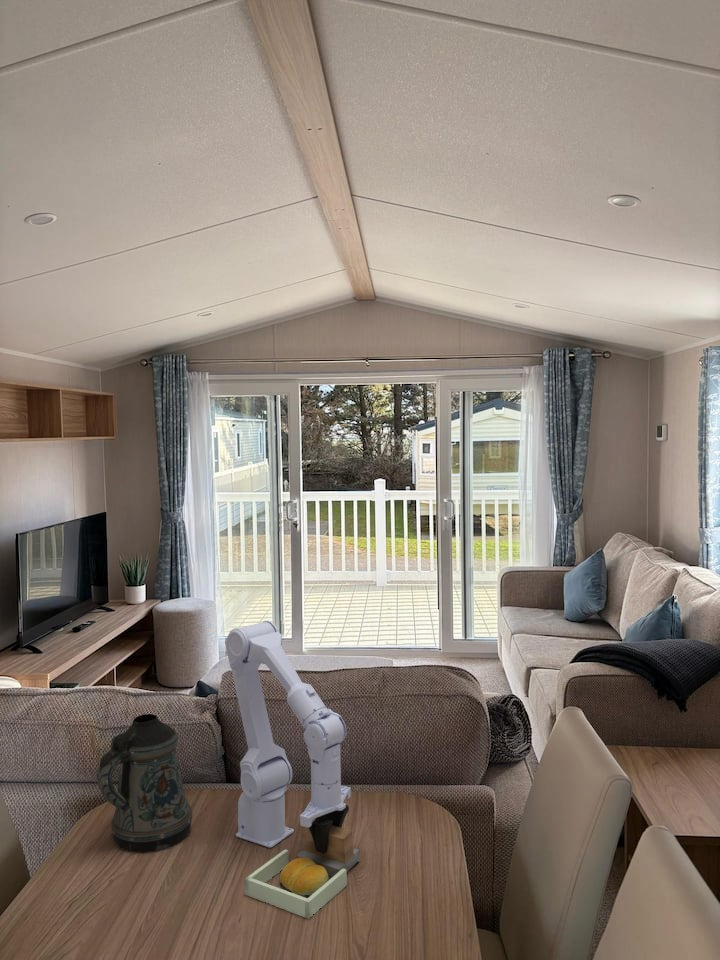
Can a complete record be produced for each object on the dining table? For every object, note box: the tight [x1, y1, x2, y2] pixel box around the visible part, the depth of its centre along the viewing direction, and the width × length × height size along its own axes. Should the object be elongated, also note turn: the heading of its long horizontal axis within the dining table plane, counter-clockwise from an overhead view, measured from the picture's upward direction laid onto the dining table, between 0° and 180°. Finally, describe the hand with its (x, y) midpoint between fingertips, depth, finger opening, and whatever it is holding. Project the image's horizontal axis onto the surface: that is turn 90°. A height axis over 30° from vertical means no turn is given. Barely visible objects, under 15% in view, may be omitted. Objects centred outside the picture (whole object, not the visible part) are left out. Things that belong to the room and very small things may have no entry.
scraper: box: [295, 825, 361, 878], centre depth 156 cm, size 10×7×7 cm
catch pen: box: [244, 849, 348, 920], centre depth 148 cm, size 14×12×3 cm
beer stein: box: [96, 713, 193, 854], centre depth 167 cm, size 16×19×25 cm
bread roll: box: [279, 858, 329, 897], centre depth 150 cm, size 8×9×4 cm
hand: (327, 847), depth 156 cm, fingers open, 3 cm apart
